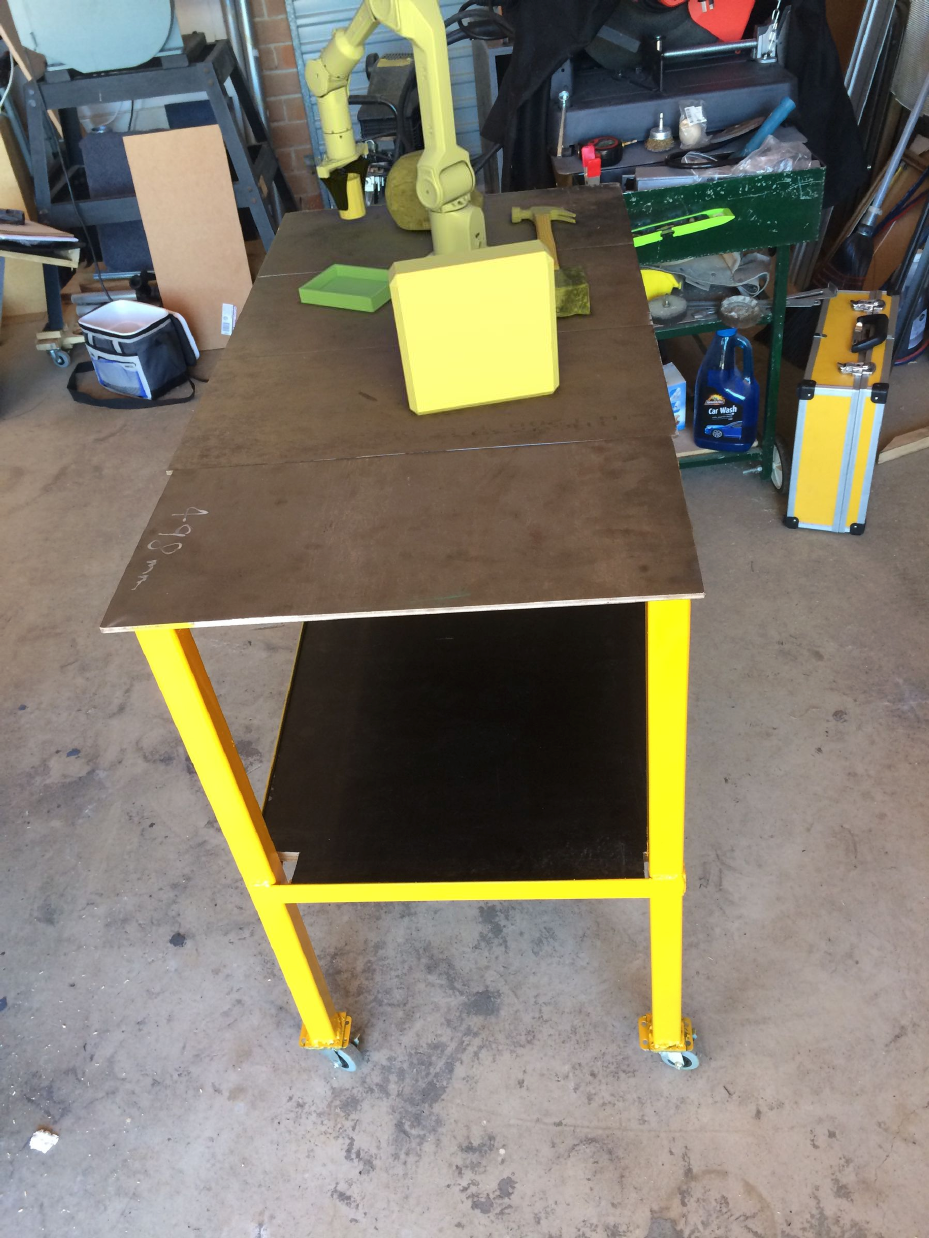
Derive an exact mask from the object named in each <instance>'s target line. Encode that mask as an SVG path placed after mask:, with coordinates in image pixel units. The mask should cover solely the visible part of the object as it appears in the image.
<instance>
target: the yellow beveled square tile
mask: <svg viewBox="0 0 929 1238" xmlns="http://www.w3.org/2000/svg"><path fill="white" fill-rule="evenodd" d="M388 270H389V271H388V279H389V285H390V291H391V297H392V298H391V302H392V309H393V314H394V321H395V327H396V333H397V339H398V345H399V351H400V357H401V363H402V369H403V375H404V381H405V387H406V394H407V401H408V404H409V409H410V410H411V411H412V412H413V413H415V414H416V415H417V416H423V415H429V414H436V413H441V412H447V411H454V410H460V409H467V408H473V407H480V406H484V405H491V404H498V403H504V402H510V401H517V400H522V399H529V398H535V397H542V396H547V395H553V394H554V392H555V391H557V388H558V387H559V386H560V372H559V371H560V370H559V352H558V351H559V350H558V349H559V348H558V331H557V317H556V304H555V282H554V260H553V258H552V256H551V254H550V252H549V250H548V248H547V247H546V246H545V245H544V244H543V243H542V242H541V241H540V240H537V239H532V240H527V241H521V242H514V243H508V244H507V243H506V244H502V245H495V246H489V247H488V248H481V249H475V250H469V251H462V252H456V253H449V254H443V255H437V256H430V257H426V256H424V257H419V258H412V259H411V258H410V259H406V260H405V259H404V260H399V261H394V262H393V263H392V264H391V266H390V268H389V269H388Z"/></svg>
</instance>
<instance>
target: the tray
mask: <svg viewBox="0 0 929 1238" xmlns="http://www.w3.org/2000/svg"><path fill="white" fill-rule="evenodd" d="M388 271H389V269H384V268H377V267H376V268H375V267H368V266H358V265H349V264H342V263H341V264H340V263H333V264H332V265H330V266H329V267H328V268H326V269H325V270H323V271H322V272H320V273H319V274H318V275H316V276H314V277H313V278H312V279H311V280H309V281H308V282H306V283H305V284H303V285H301V286H300V287H299V288H298V294H299V298H300V302H301V303H303V304H311V305H316V306H325V307H331V308H339V309H345V310H354V311H360V312H368V313H374V312H375V311H377V310H378V309H379V308H381V307H382V306H384V305H385V304H386V303H387V302H388V301H389V300H392V297H391V291H390V285H389V279H388Z"/></svg>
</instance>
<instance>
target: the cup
mask: <svg viewBox="0 0 929 1238" xmlns="http://www.w3.org/2000/svg"><path fill="white" fill-rule="evenodd" d="M347 174H348V179H347V197H348V210H347V211H342V210H338V213H339V214H338V215H339V217H340V219H342V220H357V219H360V218H363V217H364V216H366V215H367V208H366V201H365V198H364V196H363V190H362V184H361V179H360V175H359V174H356V173H347Z"/></svg>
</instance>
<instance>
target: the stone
mask: <svg viewBox="0 0 929 1238" xmlns="http://www.w3.org/2000/svg"><path fill="white" fill-rule="evenodd" d="M424 149H425V148H423V149H419V150H415V151H412V152H408V153H406V154H403V155H401V156H400V157H399V158H398V159H397V160H396V161H395V163H394V164H393V165H392V166H391V168H390V170H389V172H388V173H387V177H386V181H385V187H384V188H385V189H384V199H385V203H386V207H387V210H388V211H389V214H390V216H391V217H392V220H394V222H395V224H396V225H397V226H398V227H399V228H401V229H402V230H406V231H431V225H430V218H429V210H426V209H425V207H424V206H423V204H422V203H421V202H420V200H419V198H418V196H417V192H416V181H417V176H418V171H417V164H418V162H419V159H420V157H421V156H422V154H423V152H424ZM468 203H470V204H471V205H473V206H476V207H479V208H481V210H482V211H483V205H484V196H483V195H482V193H481V192H480V191H479V190H477V188H476V187H475V186H474V189H473V191H472V192H471V193H470V200H469V201H468Z"/></svg>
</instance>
